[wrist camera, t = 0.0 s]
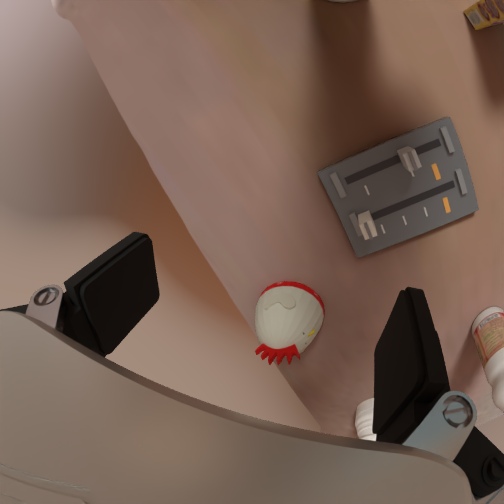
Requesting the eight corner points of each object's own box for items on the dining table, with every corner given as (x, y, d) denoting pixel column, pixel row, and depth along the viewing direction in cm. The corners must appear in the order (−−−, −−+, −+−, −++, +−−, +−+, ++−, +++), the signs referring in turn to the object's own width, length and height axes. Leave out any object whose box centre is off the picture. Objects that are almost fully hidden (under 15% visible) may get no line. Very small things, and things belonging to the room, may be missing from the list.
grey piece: (327, 332, 57) (318, 388, 45) (267, 334, 62) (246, 384, 50) (319, 278, 52) (308, 333, 39) (251, 283, 57) (224, 332, 44)
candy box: (476, 33, 22) (519, 12, 9) (462, 11, 21) (499, -17, 8) (505, 24, 17) (548, 7, 4) (491, 4, 16) (530, -19, 3)
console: (318, 171, 43) (316, 173, 41) (446, 116, 32) (451, 117, 30) (357, 254, 47) (357, 260, 45) (475, 206, 36) (480, 211, 34)
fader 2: (396, 150, 36) (403, 155, 32) (407, 145, 35) (415, 149, 31) (403, 166, 36) (410, 172, 32) (414, 161, 36) (422, 167, 31)
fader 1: (357, 214, 42) (359, 226, 38) (368, 210, 41) (371, 221, 37) (363, 228, 43) (365, 241, 39) (374, 224, 42) (377, 237, 38)
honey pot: (370, 393, 63) (365, 452, 47) (407, 401, 61) (408, 457, 45) (348, 414, 69) (340, 466, 54) (384, 421, 67) (380, 472, 52)
